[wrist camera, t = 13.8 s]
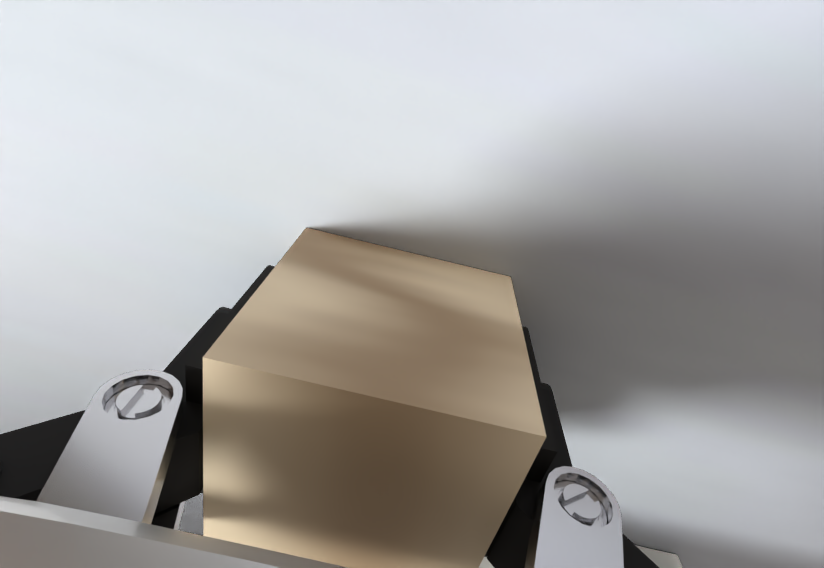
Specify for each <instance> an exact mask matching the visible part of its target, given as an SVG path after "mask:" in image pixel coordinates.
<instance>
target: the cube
mask: <svg viewBox="0 0 824 568" xmlns="http://www.w3.org/2000/svg"><path fill="white" fill-rule="evenodd" d="M545 439H546V432H545V428H544V423H543V419H542V415H541V410H540V406H539V401H538V397H537V392H536V388H535V383H534V379H533V374H532V370H531V365H530V361H529V356H528V352H527V347H526V343H525V338H524V334H523V329H522V325H521V320H520V316H519V312H518V307H517V303H516V298H515V294H514V289H513V285H512V280H511V277H509V276H505V275H501V274H497V273H493V272H489V271H485V270H480V269H476V268H472V267H468V266H464V265H460V264H456V263H451V262H447V261H443V260H439V259H435V258H431V257H426V256H422V255H418V254H414V253H410V252H406V251H402V250H397V249H393V248H389V247H385V246H381V245H377V244H373V243H368V242H364V241H360V240H356V239H352V238H348V237H344V236H339V235H335V234H331V233H327V232H323V231H319V230H314V229H310V228H306V229H305V230H304V231H303V232H302V234H301V235H300V236H299V237H298V239H297V240H296V241H295V242H294V244H293V245H292V246H291V247H290V249H289V250H288V251H287V252H286V254H285V255H284V256H283V257H282V259H281V260H280V261H279V262H278V264H277V265H276V266H275V267H274V269H273V270H272V271H271V272H270V274H269V275H268V276H267V277H266V279H265V280H264V281H263V282H262V284H261V285H260V286H259V287H258V289H257V290H256V291H255V292H254V294H253V295H252V296H251V297H250V299H249V300H248V301H247V303H246V304H245V305H244V306H243V308H242V309H241V310H240V311H239V313H238V314H237V315H236V316H235V318H234V319H233V320H232V321H231V323H230V324H229V325H228V326H227V328H226V329H225V330H224V331H223V333H222V334H221V335H220V336H219V338H218V339H217V340H216V341H215V343H214V344H213V345H212V346H211V348H210V349H209V350H208V351H207V353H206V354H205V355H204V356H203V536H207V537H211V538H216V539H221V540H225V541H230V542H234V543H239V544H244V545H248V546H253V547H258V548H262V549H267V550H271V551H276V552H280V553H285V554H289V555H294V556H298V557H303V558H307V559H312V560H316V561H321V562H325V563H330V564H334V565H339V566H344V567H348V568H479V566H480V564H481V562H482V560H483V558H484V556H485V554H486V552H487V550H488V548H489V546H490V544H491V543H492V541H493V539H494V537H495V535H496V533H497V531H498V529H499V527H500V525H501V523H502V521H503V519H504V518H505V516H506V514H507V512H508V510H509V508H510V506H511V504H512V502H513V500H514V498H515V496H516V495H517V493H518V491H519V489H520V487H521V485H522V483H523V481H524V479H525V477H526V475H527V473H528V471H529V470H530V468H531V466H532V464H533V462H534V460H535V458H536V456H537V454H538V452H539V450H540V448H541V446H542V445H543V443H544V441H545Z"/></svg>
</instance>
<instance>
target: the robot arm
mask: <svg viewBox="0 0 824 568" xmlns="http://www.w3.org/2000/svg"><path fill="white" fill-rule="evenodd" d="M273 269H274V266H270V265H268V266H267V267H266V268H265V270H264V271H263V272H262V273H261V274H260V276H259V277H258V278H257V279H256V280H255V282H254V283H253V284H252V285H251V286H250V288H249V289H248V290H247V291H246V292H245V294H244V295H243V296H242V297H241V298H240V300H239V301H238V302H237V303H236V304H235V306H234V307H233V308H232V309H229V308H225V307H221V308H219V309H218V310H217V311H216V312H215V313H214V314H213V315H212V316H211V318H210V319H209V320H208V321H207V322H206V323H205V324H204V325H203V327H202V328H201V329H200V330H199V331H198V332H197V333H196V335H195V336H194V337H193V338H192V339H191V340H190V341H189V342H188V344H187V345H186V346H185V347H184V348H183V349H182V350H181V352H180V353H179V354H178V355H177V356H176V357H175V358H174V359H173V361H172V362H171V363H170V364H169V365H168V366H167V367H166V368H165V370H164V371H157V370H136V371H132V372H128V373H124V374H121V375H119V376H117V377H114V378H112V379H110V380H109V381H108V382H106V383H105V384H103V385H102V386H101V387H100V388H99V389H98V390H97V392H96V393H95V394H94V396H93V397H92V399H91V401H90V403H89V405H88V407H87V409H86V410H84V411H80V412H77V413H73V414H70V415H66V416H63V417H59V418H56V419H52V420H49V421H45V422H42V423H39V424H35V425H32V426H28V427H25V428H21V429H18V430H14V431H11V432H7V433H4V434H0V568H348V567H344V566H339V565H334V564H330V563H325V562H321V561H316V560H312V559H307V558H303V557H298V556H294V555H289V554H285V553H280V552H276V551H271V550H267V549H262V548H258V547H253V546H248V545H244V544H239V543H234V542H230V541H225V540H221V539H216V538H211V537H207V536H202V535H197V534H193V533H188V532H184V531H179V526H180V522H181V518H182V514H183V510H184V506H185V501H186V500H188V499H190V498H192V497H195V496H197V495H199V494H200V493H203V356H204V355H205V354H206V353H207V351H208V350H209V349H210V348H211V346H212V345H213V344H214V343H215V341H216V340H217V339H218V338H219V336H220V335H221V334H222V333H223V331H224V330H225V329H226V328H227V326H228V325H229V324H230V323H231V321H232V320H233V319H234V318H235V316H236V315H237V314H238V313H239V311H240V310H241V309H242V308H243V306H244V305H245V304H246V303H247V301H248V300H249V299H250V297H251V296H252V295H253V294H254V292H255V291H256V290H257V289H258V287H259V286H260V285H261V284H262V282H263V281H264V280H265V279H266V277H267V276H268V275H269V274H270V272H271V271H272V270H273ZM522 329H523V334H524V338H525V343H526V347H527V352H528V356H529V361H530V365H531V370H532V374H533V379H534V383H535V388H536V392H537V397H538V401H539V406H540V410H541V415H542V419H543V423H544V428H545V432H546V439H545V441H544V443H543V445H542V446H541V448H540V450H539V452H538V454H537V456H536V458H535V460H534V462H533V464H532V466H531V468H530V470H529V471H528V473H527V475H526V477H525V479H524V481H523V483H522V485H521V487H520V489H519V491H518V493H517V495H516V496H515V498H514V500H513V502H512V504H511V506H510V508H509V510H508V512H507V514H506V516H505V518H504V519H503V521H502V523H501V525H500V527H499V529H498V531H497V533H496V535H495V537H494V539H493V541H492V543H491V544H490V546H489V548H488V550H487V552H486V554H485V556H484V557H487V560H488V561H489V562H490V563H491V565H492V566H493V567H494V568H659V567H658V566H657V565H656V564H655V563H654V562H653V561H652V560H651V559H649V558H648V557H647V556H646V555H645V554H644V553H643V552H642V551H641V550H640V549H639V548H638V547H636V546H635V545H634V544H633V543H632V542H631V541H630V540H629V539H628V538H627V537H626V536H625V535H623V534H622V516H621V512H620V507H619V504H618V503H617V501H616V499H615V497H614V495H613V494H612V493H611V491H610V490H609V489H608V488H607V487H606V485H605V484H603V483H602V482H601V481H600V480H599V479H597V478H596V477H595V476H593V475H591V474H590V473H588V472H586V471H584V470H581V469H578V468H575V467H572V464H571V460H570V456H569V453H568V449H567V445H566V441H565V438H564V434H563V430H562V426H561V423H560V419H559V415H558V411H557V408H556V404H555V400H554V396H553V393H552V390H551V387H550V386H549V385H548V384H545V383H541V381H540V377H539V373H538V369H537V364H536V360H535V356H534V352H533V348H532V344H531V340H530V335H529V331H528V329H527V328H526V327H523V326H522Z"/></svg>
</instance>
